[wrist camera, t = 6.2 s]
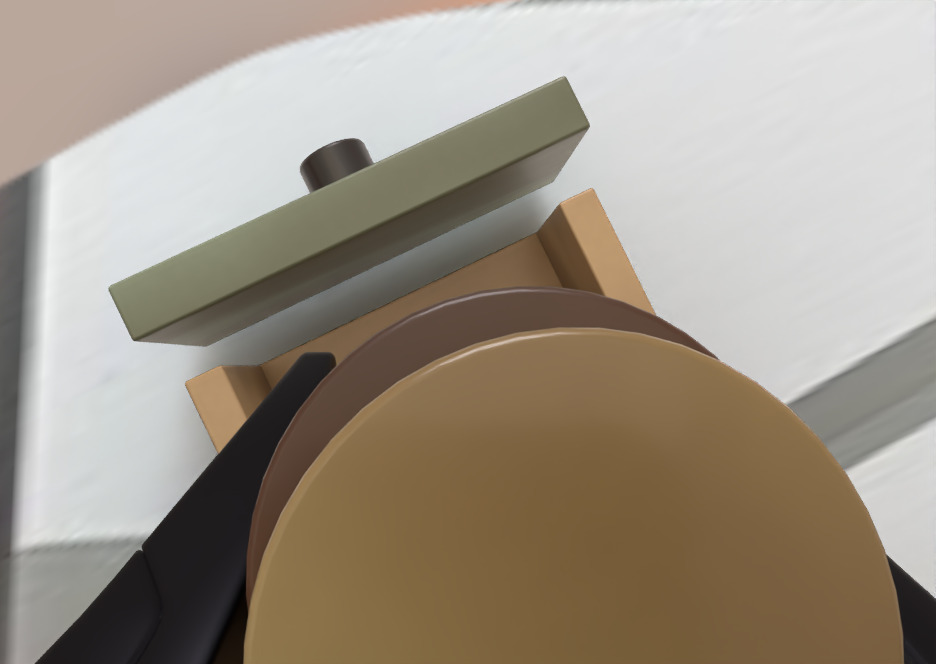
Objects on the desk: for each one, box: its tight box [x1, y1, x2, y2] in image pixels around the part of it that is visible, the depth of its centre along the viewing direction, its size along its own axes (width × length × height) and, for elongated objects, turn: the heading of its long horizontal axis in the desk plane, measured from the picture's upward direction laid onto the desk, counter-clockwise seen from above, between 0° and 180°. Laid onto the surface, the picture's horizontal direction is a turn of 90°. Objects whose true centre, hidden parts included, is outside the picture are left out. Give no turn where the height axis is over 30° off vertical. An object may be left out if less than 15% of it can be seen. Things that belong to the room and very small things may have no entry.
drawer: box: [109, 77, 656, 454], centre depth 15 cm, size 14×10×4 cm
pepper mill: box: [243, 286, 904, 664], centre depth 9 cm, size 4×4×11 cm
